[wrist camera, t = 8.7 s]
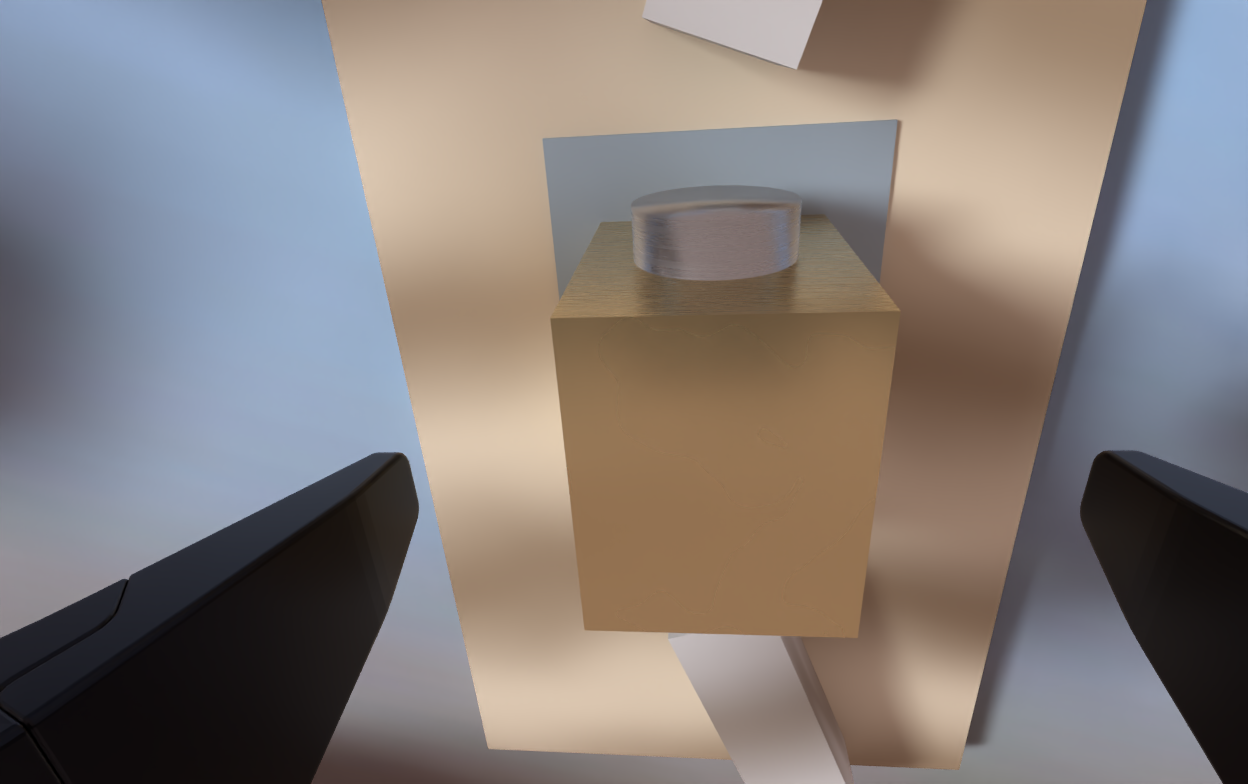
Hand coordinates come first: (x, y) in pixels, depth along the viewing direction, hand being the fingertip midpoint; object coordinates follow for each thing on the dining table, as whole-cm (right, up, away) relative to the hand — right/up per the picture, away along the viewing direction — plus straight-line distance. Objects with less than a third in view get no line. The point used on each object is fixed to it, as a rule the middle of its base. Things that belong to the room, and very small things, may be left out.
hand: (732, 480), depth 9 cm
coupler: (0, +2, +4) cm, 5 cm away
